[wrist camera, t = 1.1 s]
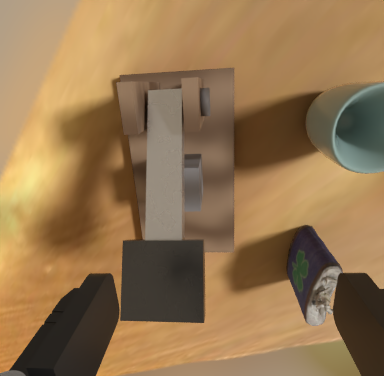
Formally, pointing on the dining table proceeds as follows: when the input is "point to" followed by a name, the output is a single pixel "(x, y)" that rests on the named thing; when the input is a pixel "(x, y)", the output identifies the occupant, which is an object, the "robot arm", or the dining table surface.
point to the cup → (350, 125)
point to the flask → (312, 274)
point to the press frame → (190, 148)
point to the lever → (164, 229)
